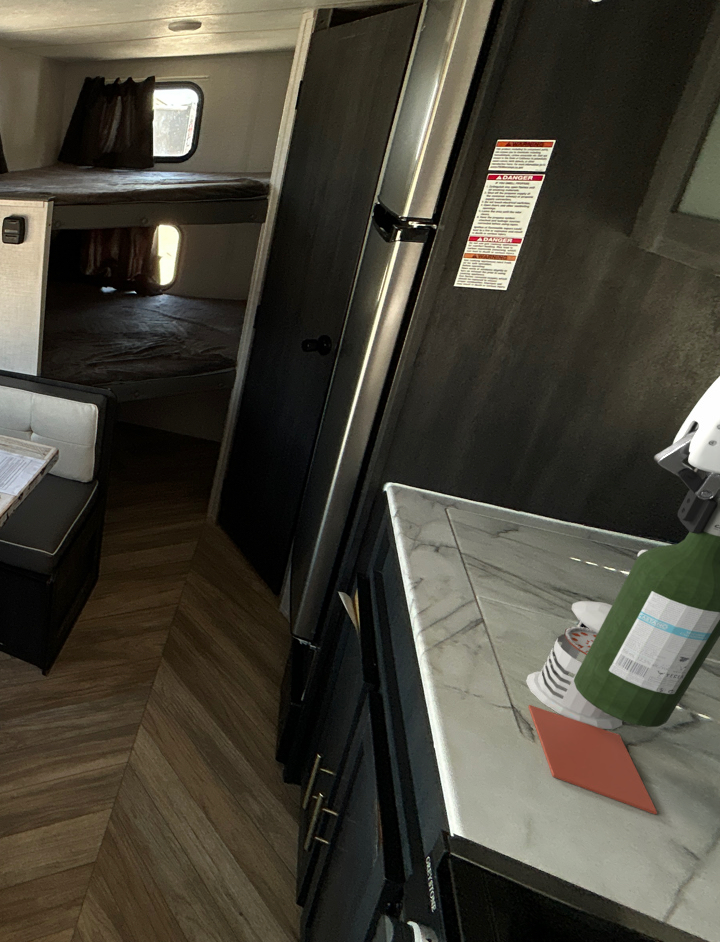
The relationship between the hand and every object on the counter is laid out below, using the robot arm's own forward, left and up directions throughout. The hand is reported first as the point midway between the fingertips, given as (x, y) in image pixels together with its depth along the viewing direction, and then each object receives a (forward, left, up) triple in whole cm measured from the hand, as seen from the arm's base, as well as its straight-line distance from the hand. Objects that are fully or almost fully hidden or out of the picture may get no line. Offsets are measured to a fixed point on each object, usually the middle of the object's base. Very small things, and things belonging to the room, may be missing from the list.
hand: (714, 530), depth 67 cm
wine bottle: (0, 0, -25) cm, 25 cm away
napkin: (0, 0, -34) cm, 34 cm away
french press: (-1, -12, -34) cm, 36 cm away
